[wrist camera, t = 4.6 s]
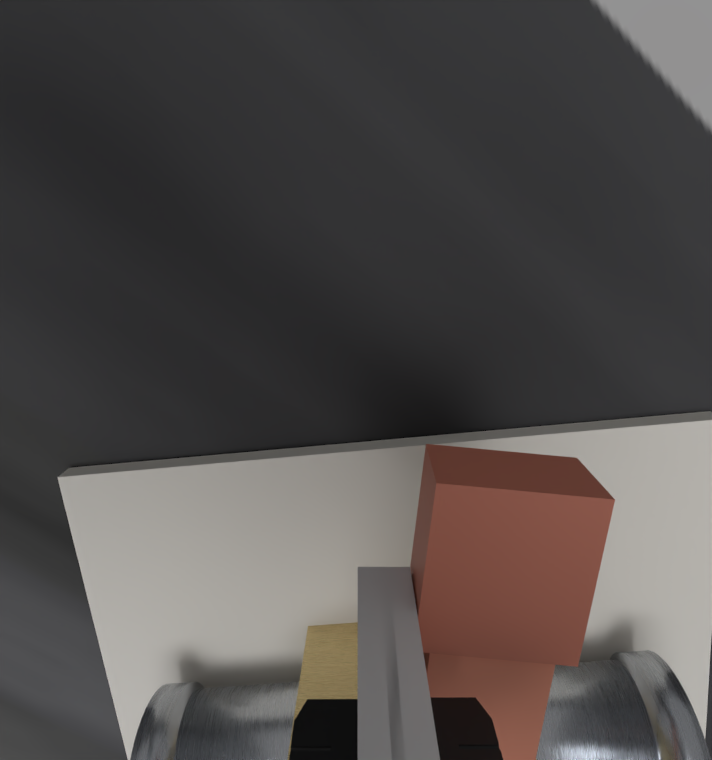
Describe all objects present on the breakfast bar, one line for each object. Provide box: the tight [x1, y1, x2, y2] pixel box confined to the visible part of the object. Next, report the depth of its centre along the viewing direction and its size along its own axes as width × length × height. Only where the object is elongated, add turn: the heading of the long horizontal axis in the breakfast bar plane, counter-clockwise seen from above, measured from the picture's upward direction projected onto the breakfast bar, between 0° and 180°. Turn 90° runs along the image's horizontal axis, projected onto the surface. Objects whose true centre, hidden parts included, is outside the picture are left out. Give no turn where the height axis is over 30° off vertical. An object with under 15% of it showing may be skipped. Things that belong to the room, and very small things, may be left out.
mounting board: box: [57, 411, 712, 760], centre depth 26 cm, size 20×27×1 cm
